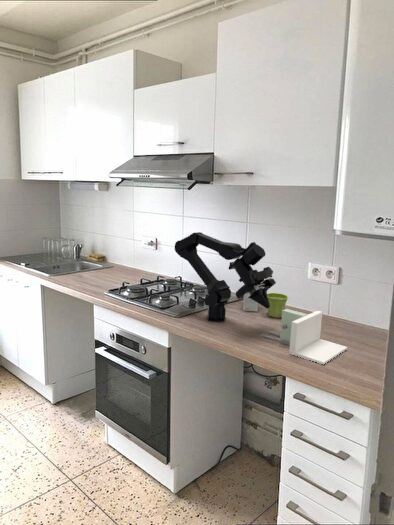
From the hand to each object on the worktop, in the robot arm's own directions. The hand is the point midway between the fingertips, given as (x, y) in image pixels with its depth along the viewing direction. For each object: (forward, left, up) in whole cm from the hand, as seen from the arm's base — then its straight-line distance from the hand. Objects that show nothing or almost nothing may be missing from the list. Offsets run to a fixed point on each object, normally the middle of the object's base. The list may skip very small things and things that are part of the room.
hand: (268, 307), depth 150 cm
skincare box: (0, +32, -11) cm, 34 cm away
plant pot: (+9, +23, -11) cm, 27 cm away
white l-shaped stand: (+9, -9, -10) cm, 17 cm away
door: (+7, -7, -10) cm, 15 cm away
